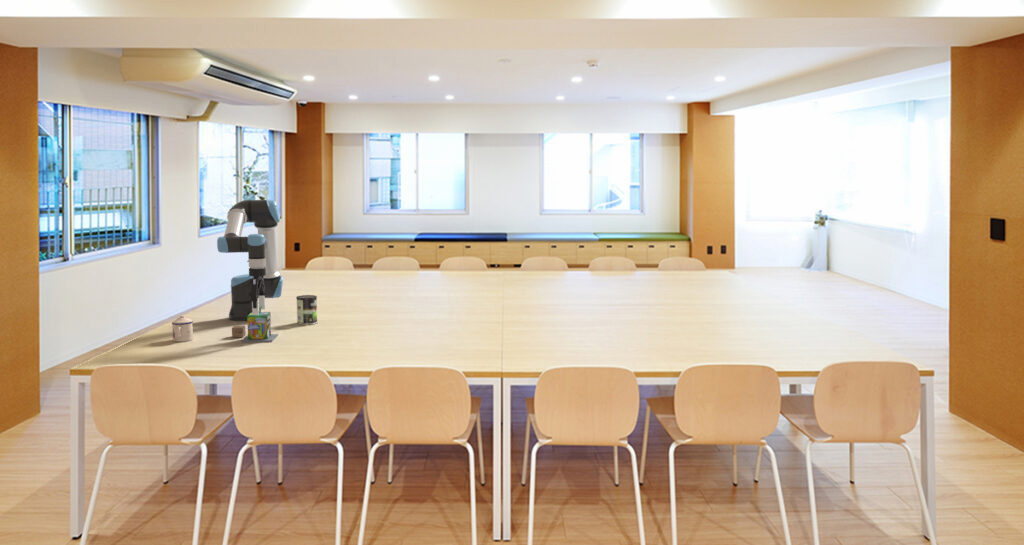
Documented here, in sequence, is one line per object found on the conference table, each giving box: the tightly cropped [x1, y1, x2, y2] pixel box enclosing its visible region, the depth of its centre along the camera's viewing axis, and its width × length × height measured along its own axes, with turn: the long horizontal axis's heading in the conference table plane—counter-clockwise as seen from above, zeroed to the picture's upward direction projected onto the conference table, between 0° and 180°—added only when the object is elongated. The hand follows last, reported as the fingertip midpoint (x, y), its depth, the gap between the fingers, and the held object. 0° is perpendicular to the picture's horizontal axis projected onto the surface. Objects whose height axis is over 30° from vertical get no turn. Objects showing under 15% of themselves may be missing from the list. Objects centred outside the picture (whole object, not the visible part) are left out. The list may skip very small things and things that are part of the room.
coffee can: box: [295, 294, 318, 326], centre depth 409 cm, size 10×10×14 cm
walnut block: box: [231, 325, 247, 338], centre depth 375 cm, size 5×5×5 cm
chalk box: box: [246, 306, 272, 339], centre depth 369 cm, size 9×9×15 cm
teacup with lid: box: [171, 314, 194, 343], centre depth 365 cm, size 12×9×12 cm
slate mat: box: [240, 333, 279, 343], centre depth 371 cm, size 14×14×1 cm
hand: (258, 312), depth 369 cm, fingers open, 13 cm apart
